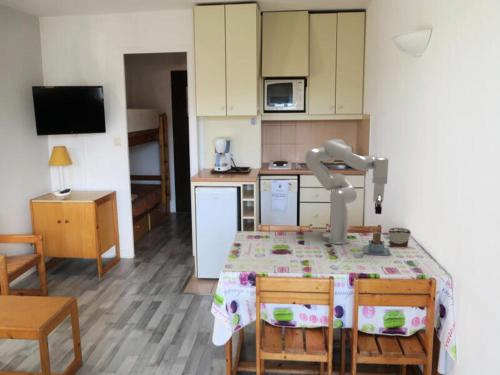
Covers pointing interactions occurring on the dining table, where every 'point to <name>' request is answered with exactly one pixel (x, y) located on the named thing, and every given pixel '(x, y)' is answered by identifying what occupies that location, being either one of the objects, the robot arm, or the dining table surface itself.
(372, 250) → the cup bracket
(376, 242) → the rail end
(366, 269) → the dining table surface
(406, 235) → the food container
